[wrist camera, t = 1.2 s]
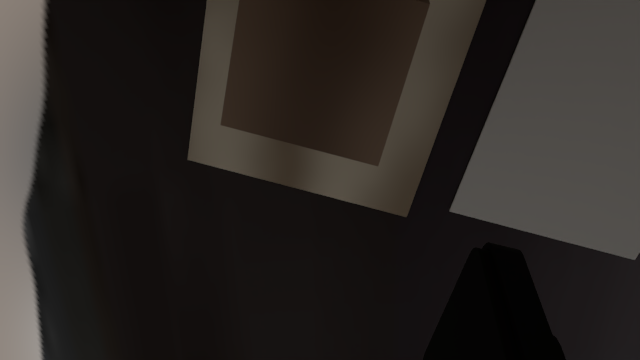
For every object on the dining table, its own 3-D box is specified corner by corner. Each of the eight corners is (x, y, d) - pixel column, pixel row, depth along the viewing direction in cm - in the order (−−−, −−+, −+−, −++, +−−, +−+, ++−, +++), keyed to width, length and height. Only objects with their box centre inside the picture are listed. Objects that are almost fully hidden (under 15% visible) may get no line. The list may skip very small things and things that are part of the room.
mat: (807, -12, 22) (809, -12, 22) (633, 258, 29) (634, 259, 29) (566, -76, 22) (566, -75, 22) (449, 210, 29) (449, 211, 29)
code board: (549, -175, 21) (550, -175, 21) (406, 215, 30) (406, 217, 30) (239, -256, 21) (238, -257, 21) (188, 158, 30) (187, 159, 30)
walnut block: (422, -30, 24) (430, 3, 18) (383, 99, 27) (378, 166, 21) (285, -66, 24) (245, -45, 18) (261, 67, 27) (220, 125, 21)
